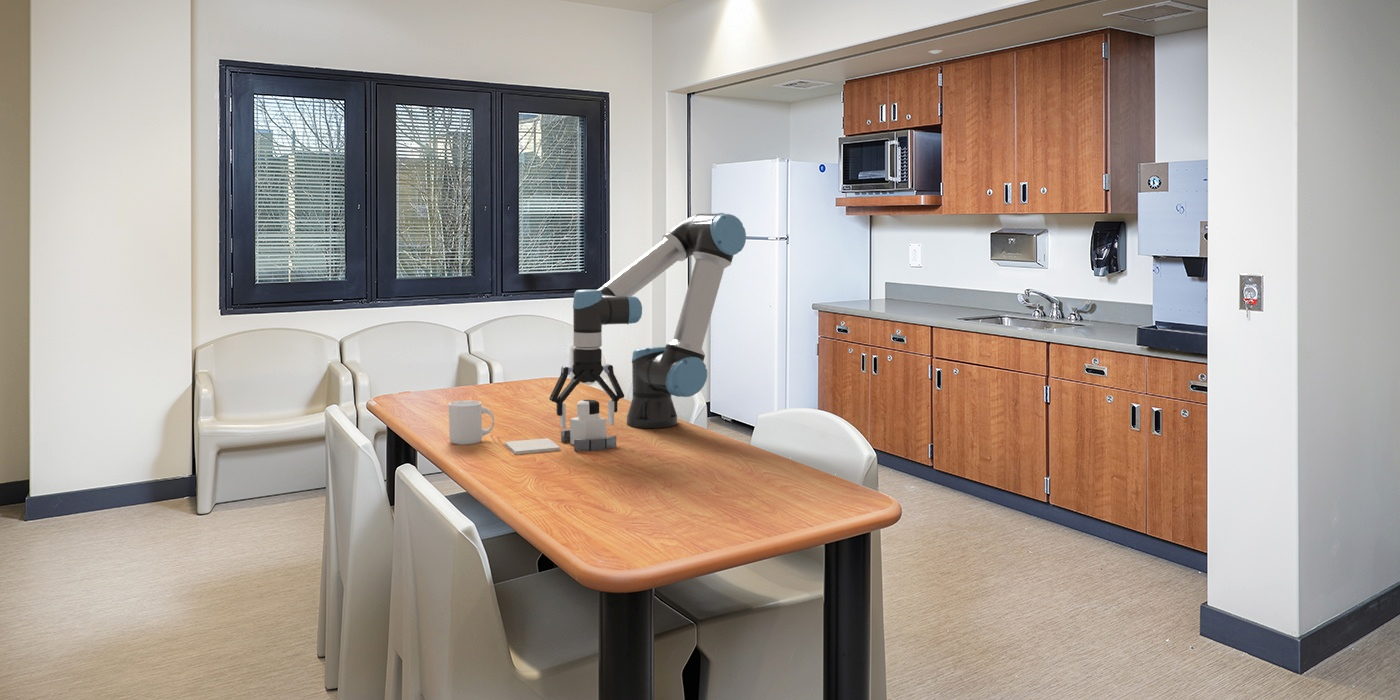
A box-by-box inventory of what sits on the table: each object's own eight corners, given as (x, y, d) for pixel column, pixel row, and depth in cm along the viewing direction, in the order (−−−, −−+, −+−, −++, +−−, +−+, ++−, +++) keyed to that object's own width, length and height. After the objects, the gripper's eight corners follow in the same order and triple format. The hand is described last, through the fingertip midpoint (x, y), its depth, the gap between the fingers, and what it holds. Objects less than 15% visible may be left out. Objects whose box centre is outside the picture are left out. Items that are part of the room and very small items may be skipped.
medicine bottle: (590, 440, 265) (590, 397, 264) (607, 444, 260) (606, 400, 259) (569, 444, 260) (569, 400, 259) (586, 448, 255) (585, 404, 254)
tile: (548, 441, 264) (547, 438, 264) (560, 450, 253) (560, 447, 253) (504, 444, 259) (504, 441, 259) (515, 454, 248) (515, 451, 248)
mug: (496, 442, 261) (496, 404, 260) (451, 446, 257) (450, 406, 256) (492, 436, 269) (491, 398, 268) (448, 439, 265) (447, 401, 264)
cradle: (599, 436, 270) (599, 425, 270) (619, 448, 255) (619, 437, 255) (559, 439, 265) (558, 429, 265) (576, 452, 250) (576, 441, 250)
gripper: (626, 344, 265) (626, 420, 268) (538, 347, 255) (538, 426, 258) (636, 347, 259) (635, 425, 261) (545, 350, 248) (545, 431, 251)
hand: (587, 426), depth 259 cm, fingers open, 13 cm apart
